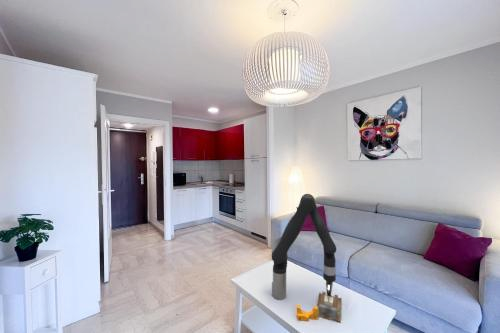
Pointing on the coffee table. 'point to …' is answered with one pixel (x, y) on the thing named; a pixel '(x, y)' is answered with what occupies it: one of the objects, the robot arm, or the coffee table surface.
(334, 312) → the gauge board
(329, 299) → the white cube with stick
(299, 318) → the pipe clamp
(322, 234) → the robot arm
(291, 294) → the coffee table surface
